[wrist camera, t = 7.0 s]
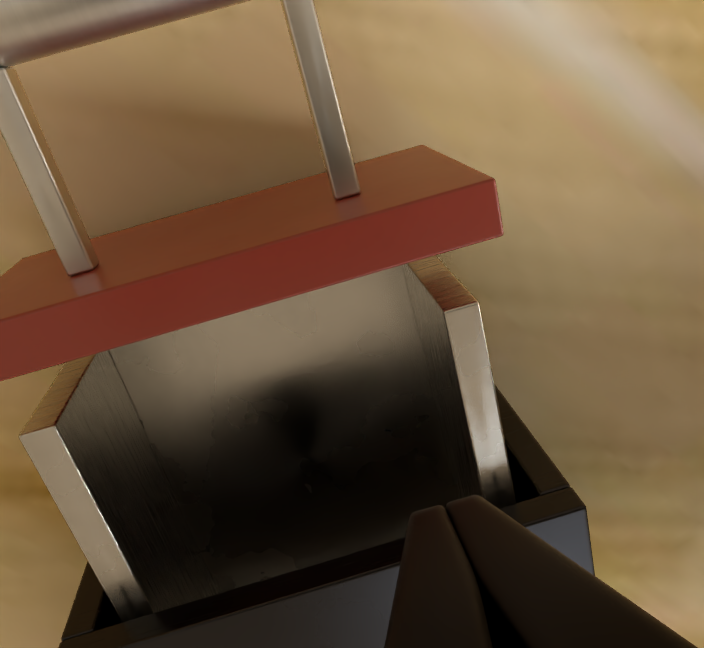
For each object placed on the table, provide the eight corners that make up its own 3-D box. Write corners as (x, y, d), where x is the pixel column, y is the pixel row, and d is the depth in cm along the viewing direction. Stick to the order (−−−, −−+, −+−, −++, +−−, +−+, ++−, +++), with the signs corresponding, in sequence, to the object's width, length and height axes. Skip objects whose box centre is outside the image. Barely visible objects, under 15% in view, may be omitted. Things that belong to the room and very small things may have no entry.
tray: (-91, 29, 15) (-285, 8, 10) (374, -98, 15) (438, -185, 10) (193, 608, 23) (173, 776, 17) (498, 516, 23) (571, 653, 18)
